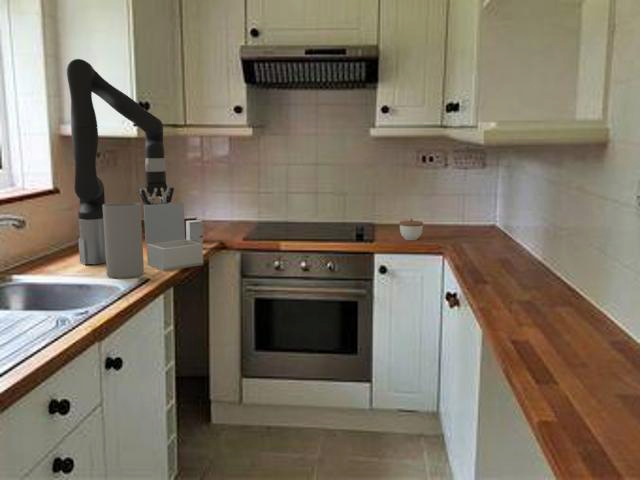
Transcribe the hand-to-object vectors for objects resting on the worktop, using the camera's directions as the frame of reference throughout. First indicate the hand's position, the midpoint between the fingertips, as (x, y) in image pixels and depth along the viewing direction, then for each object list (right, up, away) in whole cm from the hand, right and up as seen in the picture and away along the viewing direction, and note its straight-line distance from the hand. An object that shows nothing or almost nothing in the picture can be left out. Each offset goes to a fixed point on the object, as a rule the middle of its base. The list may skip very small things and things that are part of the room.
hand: (157, 214), depth 250 cm
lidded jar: (+105, -10, +46) cm, 115 cm away
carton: (+8, -19, -7) cm, 22 cm away
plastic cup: (+3, -11, +39) cm, 41 cm away
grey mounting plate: (+4, -3, -4) cm, 7 cm away
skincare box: (+10, -14, +24) cm, 30 cm away
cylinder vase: (-6, -22, -23) cm, 33 cm away
